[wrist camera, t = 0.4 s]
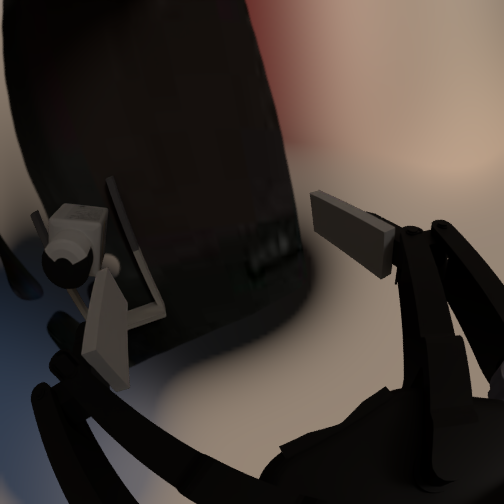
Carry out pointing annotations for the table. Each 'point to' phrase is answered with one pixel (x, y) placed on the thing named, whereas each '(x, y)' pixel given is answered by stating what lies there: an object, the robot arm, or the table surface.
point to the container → (75, 244)
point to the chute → (152, 309)
